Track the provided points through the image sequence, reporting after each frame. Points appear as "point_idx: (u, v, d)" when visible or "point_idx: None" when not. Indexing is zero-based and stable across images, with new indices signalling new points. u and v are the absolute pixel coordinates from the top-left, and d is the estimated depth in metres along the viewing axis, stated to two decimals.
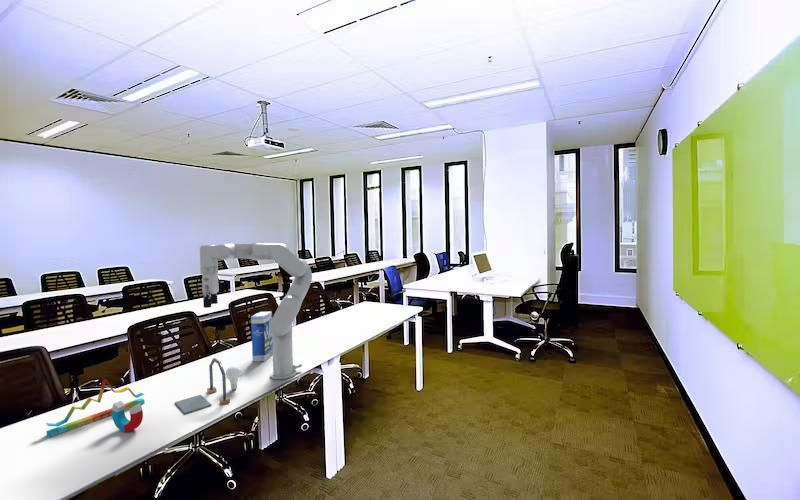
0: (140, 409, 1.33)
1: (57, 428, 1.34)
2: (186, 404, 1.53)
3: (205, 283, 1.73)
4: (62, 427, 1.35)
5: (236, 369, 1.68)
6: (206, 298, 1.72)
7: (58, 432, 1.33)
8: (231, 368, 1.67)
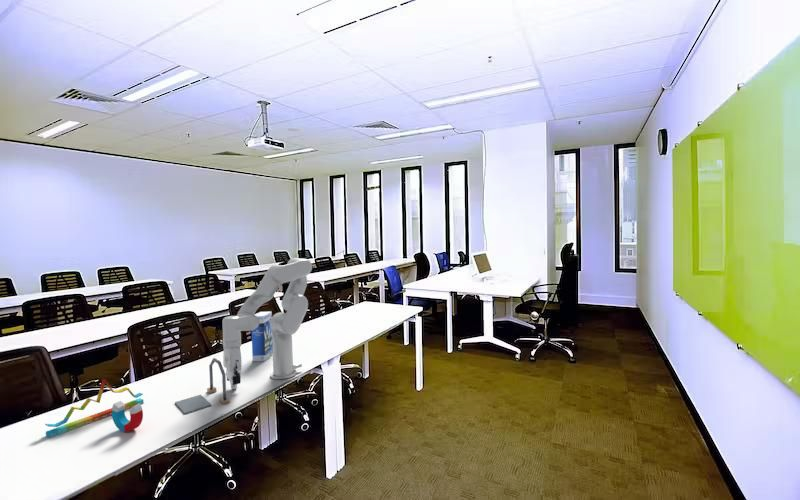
0: (140, 409, 1.33)
1: (56, 429, 1.34)
2: (186, 404, 1.53)
3: None
4: (61, 427, 1.34)
5: None
6: None
7: (57, 432, 1.33)
8: None
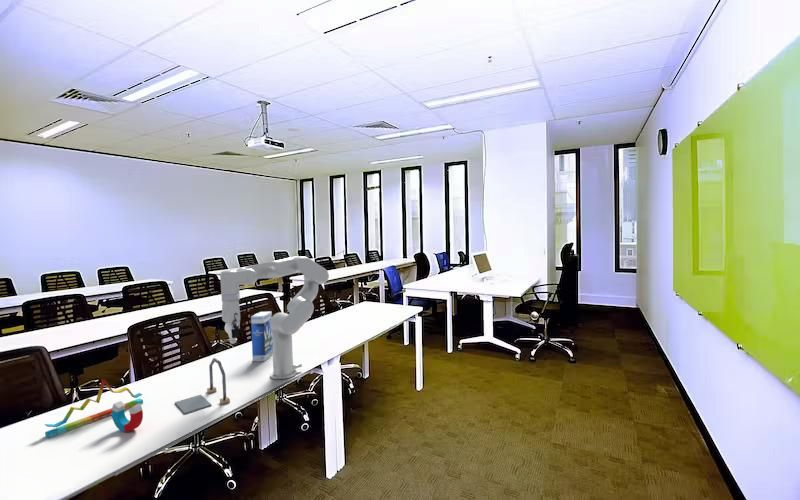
0: (140, 409, 1.33)
1: (56, 429, 1.33)
2: (186, 404, 1.53)
3: None
4: (61, 428, 1.34)
5: None
6: None
7: (57, 433, 1.32)
8: None
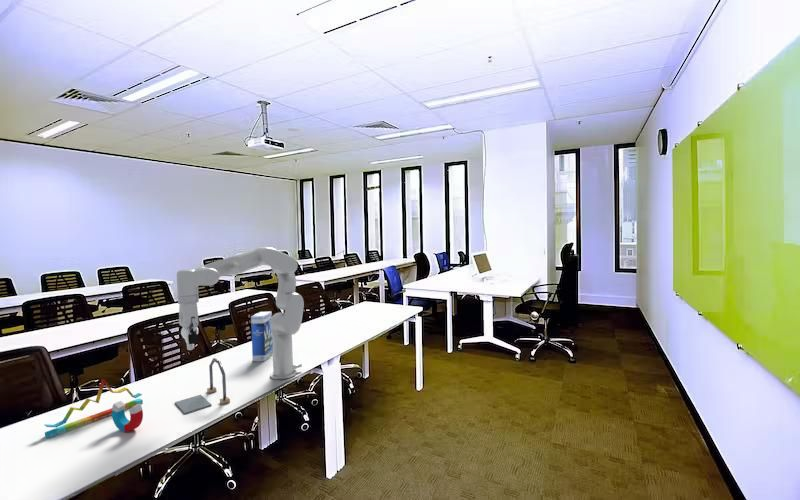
0: (140, 409, 1.33)
1: (55, 429, 1.33)
2: (186, 404, 1.53)
3: None
4: (61, 428, 1.34)
5: None
6: None
7: (57, 433, 1.32)
8: None
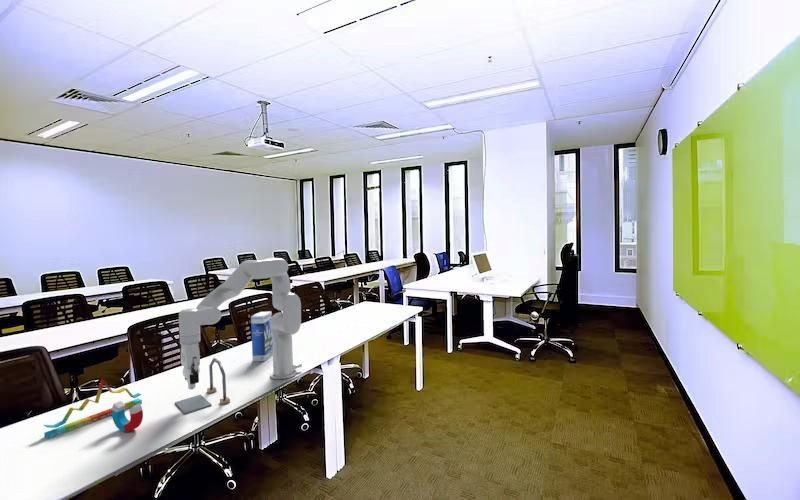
0: (140, 409, 1.33)
1: (55, 429, 1.33)
2: (186, 404, 1.53)
3: None
4: (60, 428, 1.34)
5: None
6: None
7: (56, 433, 1.32)
8: None
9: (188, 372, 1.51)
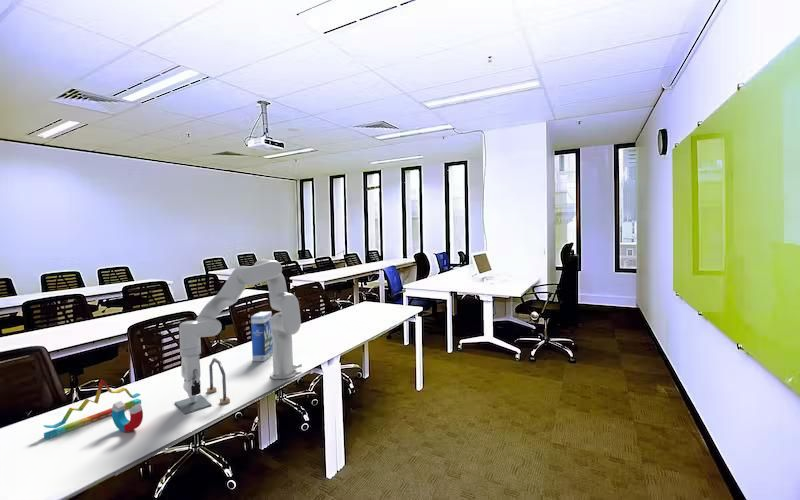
0: (140, 409, 1.33)
1: (55, 430, 1.33)
2: (186, 404, 1.53)
3: None
4: (60, 429, 1.33)
5: None
6: None
7: (56, 434, 1.32)
8: None
9: (189, 386, 1.51)
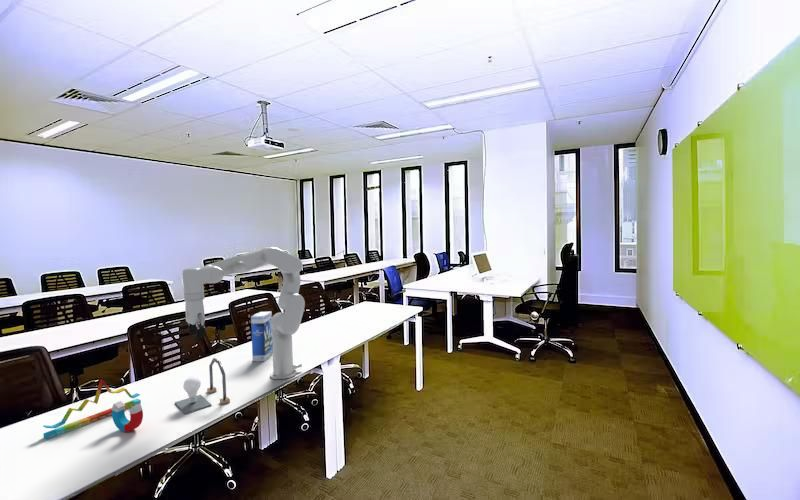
0: (140, 409, 1.33)
1: (54, 430, 1.33)
2: (186, 404, 1.53)
3: None
4: (59, 429, 1.33)
5: (195, 381, 1.53)
6: None
7: (56, 434, 1.32)
8: (189, 380, 1.53)
9: (189, 386, 1.51)
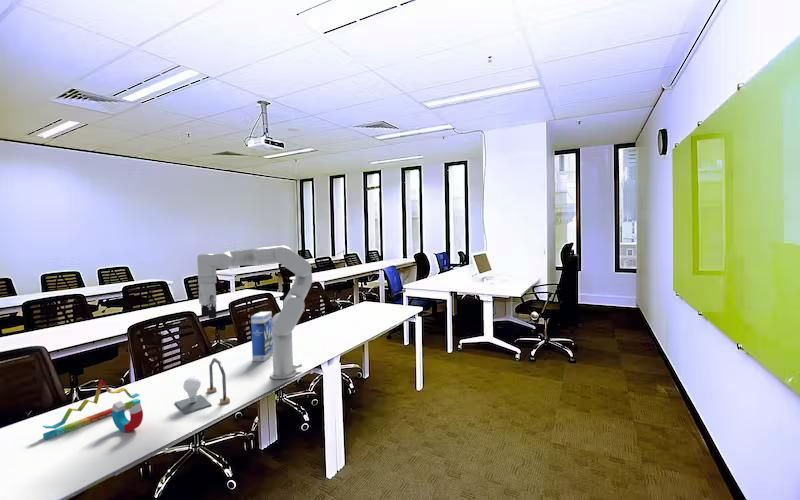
0: (140, 409, 1.33)
1: (54, 430, 1.32)
2: (186, 404, 1.53)
3: None
4: (59, 429, 1.33)
5: (195, 381, 1.53)
6: None
7: (56, 434, 1.31)
8: (189, 380, 1.53)
9: (189, 386, 1.51)
